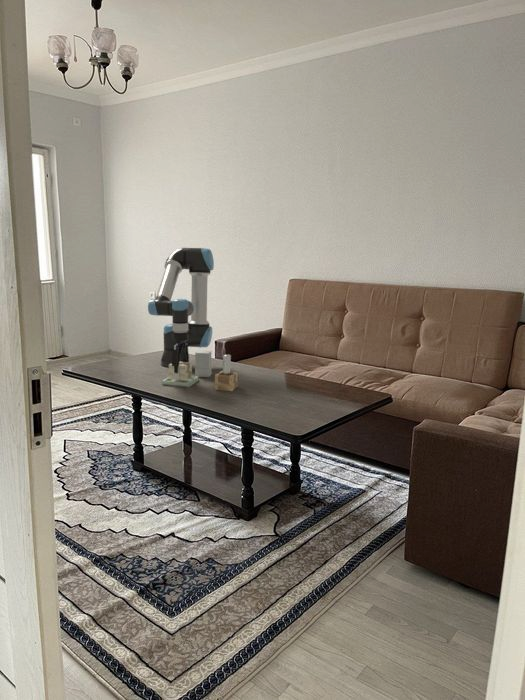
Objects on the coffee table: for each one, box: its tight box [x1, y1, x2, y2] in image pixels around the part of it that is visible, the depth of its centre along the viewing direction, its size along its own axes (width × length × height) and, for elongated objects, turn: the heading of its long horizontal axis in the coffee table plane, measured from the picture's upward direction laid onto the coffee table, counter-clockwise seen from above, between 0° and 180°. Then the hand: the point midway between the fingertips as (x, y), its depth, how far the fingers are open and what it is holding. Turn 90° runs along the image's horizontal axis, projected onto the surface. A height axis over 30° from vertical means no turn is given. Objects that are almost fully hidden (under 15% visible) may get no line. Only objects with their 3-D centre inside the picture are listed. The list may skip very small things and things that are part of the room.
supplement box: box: [194, 349, 212, 378], centre depth 281 cm, size 7×7×13 cm
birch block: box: [168, 361, 193, 380], centre depth 265 cm, size 8×8×7 cm
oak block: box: [214, 370, 239, 392], centre depth 258 cm, size 8×8×7 cm
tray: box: [161, 375, 200, 388], centre depth 266 cm, size 14×14×2 cm
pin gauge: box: [222, 354, 232, 376], centre depth 257 cm, size 4×4×16 cm
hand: (180, 377), depth 265 cm, fingers closed on birch block, 8 cm apart
